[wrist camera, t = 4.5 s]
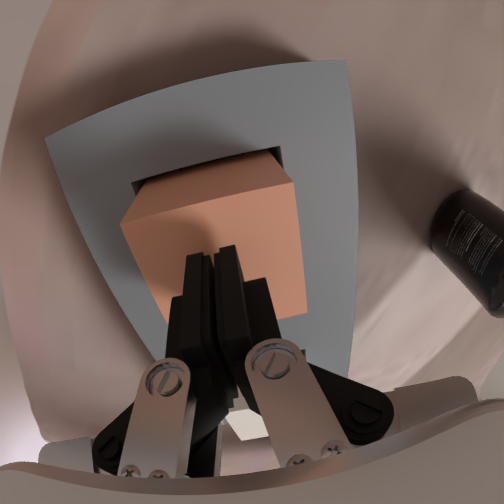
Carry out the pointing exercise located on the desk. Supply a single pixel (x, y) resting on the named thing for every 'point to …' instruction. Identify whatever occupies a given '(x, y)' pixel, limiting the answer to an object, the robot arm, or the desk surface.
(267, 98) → the key panel
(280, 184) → the terracotta key
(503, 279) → the supplement bottle
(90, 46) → the desk surface
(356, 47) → the desk surface
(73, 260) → the desk surface
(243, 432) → the off-white key
